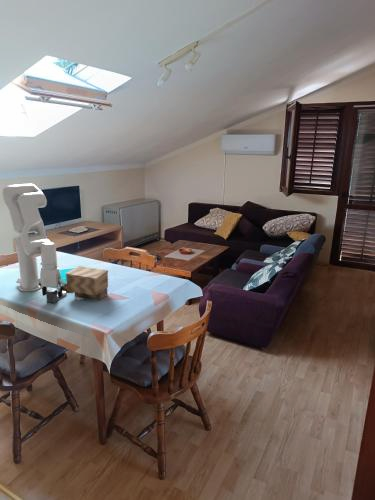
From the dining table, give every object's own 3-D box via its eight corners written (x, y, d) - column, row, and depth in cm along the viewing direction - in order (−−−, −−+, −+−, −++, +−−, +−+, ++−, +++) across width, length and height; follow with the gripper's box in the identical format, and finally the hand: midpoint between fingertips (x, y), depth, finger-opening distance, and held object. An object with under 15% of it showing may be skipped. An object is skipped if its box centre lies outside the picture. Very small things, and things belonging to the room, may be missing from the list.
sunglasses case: (72, 293, 206) (67, 283, 206) (64, 297, 209) (58, 287, 208) (90, 282, 223) (85, 273, 222) (82, 286, 225) (76, 277, 225)
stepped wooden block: (67, 298, 200) (65, 273, 195) (80, 289, 212) (79, 266, 207) (96, 304, 195) (95, 278, 190) (108, 294, 207) (108, 270, 202)
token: (73, 300, 199) (73, 297, 198) (78, 296, 204) (78, 294, 203) (81, 301, 198) (81, 298, 197) (86, 298, 202) (86, 295, 202)
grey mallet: (46, 303, 194) (45, 291, 192) (61, 293, 206) (61, 282, 204) (53, 304, 193) (52, 292, 191) (67, 294, 205) (67, 283, 203)
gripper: (31, 266, 188) (34, 296, 192) (59, 269, 183) (62, 300, 188) (40, 261, 195) (43, 291, 199) (68, 265, 190) (70, 295, 194)
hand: (52, 295), depth 193 cm, fingers open, 9 cm apart
